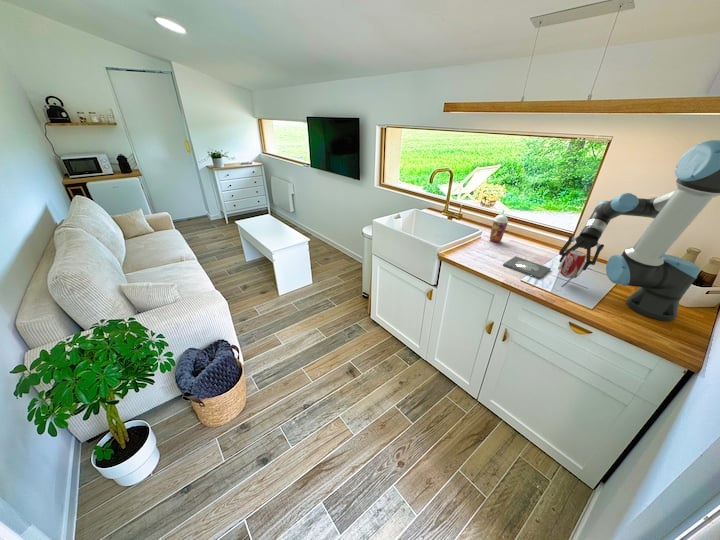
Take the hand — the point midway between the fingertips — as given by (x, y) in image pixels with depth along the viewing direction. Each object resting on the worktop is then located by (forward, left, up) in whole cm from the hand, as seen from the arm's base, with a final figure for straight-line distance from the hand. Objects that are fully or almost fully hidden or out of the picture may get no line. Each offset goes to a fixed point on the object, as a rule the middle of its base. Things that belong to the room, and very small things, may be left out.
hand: (568, 271), depth 129 cm
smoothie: (+46, -26, -7) cm, 53 cm away
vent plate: (+18, -4, -7) cm, 20 cm away
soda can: (0, -3, -4) cm, 5 cm away
